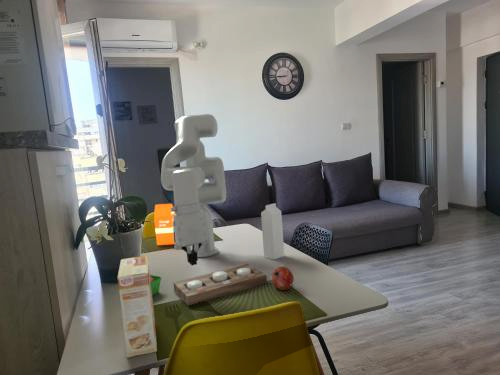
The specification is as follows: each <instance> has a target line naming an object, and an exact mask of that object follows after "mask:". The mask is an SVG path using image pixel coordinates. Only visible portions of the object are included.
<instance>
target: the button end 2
mask: <svg viewBox="0 0 500 375" xmlns="http://www.w3.org/2000/svg"><path fill="white" fill-rule="evenodd" d="M248 274H251V270H250V269H249V268H241V269H238V270H237V275H238V276H240V277H241V276H244V275H248Z"/></svg>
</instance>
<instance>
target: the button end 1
mask: <svg viewBox="0 0 500 375" xmlns="http://www.w3.org/2000/svg"><path fill="white" fill-rule="evenodd" d="M200 287H202V281H199V280H195V281H191V282H188V283H187V288H188V290H193V289H196V288H200Z"/></svg>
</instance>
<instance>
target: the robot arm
mask: <svg viewBox="0 0 500 375" xmlns="http://www.w3.org/2000/svg"><path fill="white" fill-rule="evenodd" d="M218 127H219V126H218V122H217V120H216V118H215V116H214V115H212V114H209V113H207V114H206V113H203V114H190V115H184V116H181V117H180V118H178V119H177V120H175V121H174V130H175V133H176V141H175V143H176V144H175V145H174V146H172V147H171V148H170V150H169V151H168V152H167V153H166V154H165V155H164V157H163V159H162V162H161V172H160V181H161V186H162V187H163V189H164V190H166V191H173V200H174V206H173V207H172V208H171V212H175V214H174V219H173V237H174V242H175V244H174V249H175V251H184V253H186V259H187V263H189V264H190V266H196V265H198V260H199V258H207V257H212V256H215V255H217V254H218V253H219V248H218V247H217V246H216V247H215V235H214V225H213V224H214V223H213V215H212V211H211V210H210V209H209V208H208V207H207V206H206V205H211V204H221V203H224V202H225V201H226V199H227V186H226V176H225V166H224V162H223V160H222V158H221V157H218V156H209V157H207V156H206V149H205V144H204V143H203V142H202V140H201V139H203V138H214V137H216V136H217V134H218ZM182 162H185V164H186V165H185V166H177V165H179V164H180V163H182ZM206 180H214V181H209V182H205V181H206Z"/></svg>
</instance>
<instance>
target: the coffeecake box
mask: <svg viewBox="0 0 500 375" xmlns="http://www.w3.org/2000/svg"><path fill="white" fill-rule="evenodd" d="M149 266H150V265H149V258H148V255H141V256H135V257H134V256H133V257H128V258H122V259H120V263H119V269H118V273H117V284H118V292H119V299H120V307H121V316H122V324H123V325H122V326H123V334H124V341H125V350H126V358H132V357H137V356H141V355H146V354H152V353H156V352H157V351H158V349H157V348H158V347H157V344H158V343H157V332H156V320H155V318H156V317H155V310H154V302H153V295H152V290H151V281H150V275H151V274H150V267H149Z"/></svg>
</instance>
